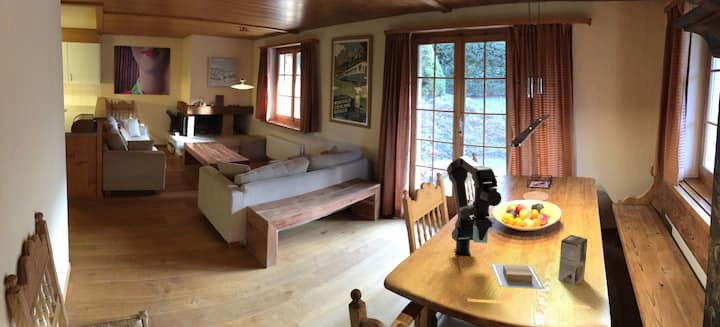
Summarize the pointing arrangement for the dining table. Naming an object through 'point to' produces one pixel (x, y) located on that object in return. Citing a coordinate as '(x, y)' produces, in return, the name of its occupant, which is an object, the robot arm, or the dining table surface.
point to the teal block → (476, 236)
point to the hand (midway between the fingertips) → (480, 238)
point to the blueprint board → (503, 283)
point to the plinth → (517, 273)
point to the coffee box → (572, 259)
